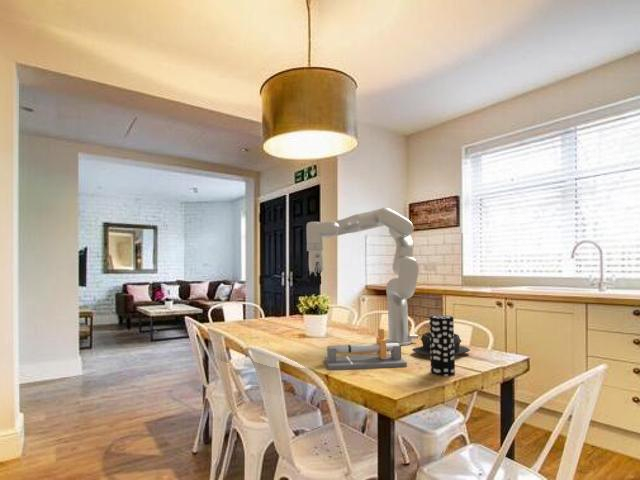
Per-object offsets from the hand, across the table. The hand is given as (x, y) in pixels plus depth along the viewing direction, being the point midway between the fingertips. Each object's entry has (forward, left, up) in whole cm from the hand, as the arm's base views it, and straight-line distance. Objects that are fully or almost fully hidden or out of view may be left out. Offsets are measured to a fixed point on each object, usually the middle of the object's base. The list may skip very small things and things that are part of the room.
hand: (315, 284), depth 186 cm
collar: (-23, +31, -27) cm, 47 cm away
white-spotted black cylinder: (-41, +48, -30) cm, 70 cm away
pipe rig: (-16, +31, -30) cm, 46 cm away
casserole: (-52, +21, -30) cm, 64 cm away
